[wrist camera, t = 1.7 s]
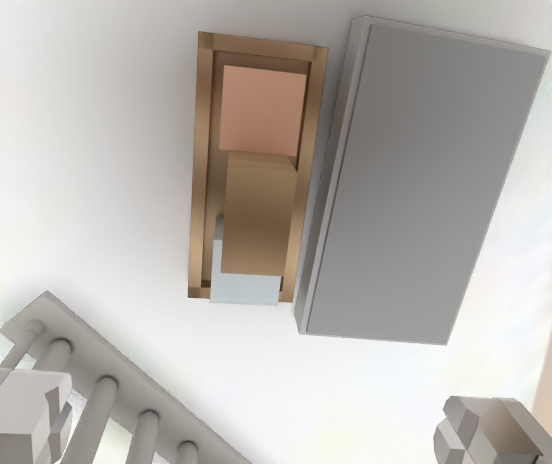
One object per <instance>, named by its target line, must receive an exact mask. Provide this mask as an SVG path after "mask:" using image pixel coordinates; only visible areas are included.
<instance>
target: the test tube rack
mask: <svg viewBox="0 0 552 464" xmlns="http://www.w3.org/2000/svg"><path fill="white" fill-rule="evenodd" d="M0 333H2V334H3V335H4V336H5V337H7V338H8V339H9V340H11V341H12V342H13V343H15V344H16V345H15V346H14V347H13V349H12V350H11V351H10V352H9V354H8V355H7V356H6V358H5V359H4V360H3V361H2V363H1V364H0V368H10V369H14V368H15V367H16V366H17V364H18V363H19V361H20V360H21V359H22V357H23V356H24V355H25V353H28V354H29V355H30V356H32V357H33V358H34V359H36V360H37V362H36V364H35V365H34V367H33V368H32V370H39V371H51V372H64V373H69V374H70V375H71V379H72V388H73V389H75V390H76V391H77V392H79V393H80V394H81V395H82V396H84V397H85V398H86V399H88V401H87V403H86V405H85V408H84V410H83V412H82V415H81V417H80V419H79V422H78V424H77V426H76V428H75V431H74V433H73V435H72V438H71V440H70V442H69V445H68V447H67V449H66V451H65V454H64V456H63V458H62V461H61V463H60V464H92V463H93V460H94V457H95V454H96V451H97V449H98V446H99V443H100V440H101V437H102V434H103V432H104V429H105V426H106V423H107V420H108V418H109V416H110V417H111V418H112V419H114V420H115V421H116V422H118V423H119V424H120V425H122V426H123V427H124V428H125V429H127V430H128V431H129V432H131V433H132V434H133V438H132V442H131V445H130V449H129V453H128V456H127V460H126V464H152V460H153V455H154V451H155V452H157V453H158V454H159V455H161V456H162V457H163V458H165V459H166V460H167V461H169V462H170V463H171V464H252V463H251V462H249V461H248V460H247V459H246V458H245V457H244V456H242V455H241V454H240V453H239V452H238V451H236V450H235V449H234V448H233V447H232V446H231V445H229V444H228V443H227V442H226V441H225V440H224V439H222V438H221V437H220V436H219V435H218V434H216V433H215V432H214V431H213V430H212V429H211V428H209V427H208V426H207V425H206V424H205V423H203V422H202V421H201V420H200V419H199V418H198V417H196V416H195V415H194V414H193V413H192V412H190V411H189V410H188V409H187V408H186V407H185V406H183V405H182V404H181V403H180V402H179V401H178V400H176V399H175V398H174V397H173V396H172V395H170V394H169V393H168V392H167V391H166V390H165V389H163V388H162V387H161V386H160V385H159V384H157V383H156V382H155V381H154V380H153V379H152V378H150V377H149V376H148V375H147V374H146V373H145V372H143V371H142V370H141V369H140V368H139V367H137V366H136V365H135V364H134V363H133V362H132V361H130V360H129V359H128V358H127V357H126V356H124V355H123V354H122V353H121V352H120V351H119V350H117V349H116V348H115V347H114V346H113V345H111V344H110V343H109V342H108V341H107V340H106V339H104V338H103V337H102V336H101V335H100V334H99V333H97V332H96V331H95V330H94V329H93V328H91V327H90V326H89V325H88V324H87V323H86V322H84V321H83V320H82V319H81V318H80V317H79V316H77V315H76V314H75V313H74V312H73V311H71V310H70V309H69V308H68V307H67V306H66V305H64V304H63V303H62V302H61V301H60V300H59V299H57V298H56V297H55V296H54V295H53V294H51V293H50V292H49V291H48V290H47V291H45V292H44V293H43V294H42V295H40V296H39V297H38V298H37V299H35V300H34V301H33V302H32V303H31V304H29V305H28V306H27V307H26V308H24V309H23V310H22V311H21V312H19V313H18V314H17V315H16V316H14V317H13V318H12V319H11V320H9V321H8V322H7V323H6V324H5V325H3V327H2V328H1V329H0Z"/></svg>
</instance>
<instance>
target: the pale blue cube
mask: <svg viewBox="0 0 552 464" xmlns="http://www.w3.org/2000/svg"><path fill="white" fill-rule="evenodd" d="M223 226H224V216H216V224H215V233H214V243H213V259H212V276H211V292H210V303H230V304H251V305H273V306H277V305H278V297H279V289H280V282H281V276H265V275H247V274H229V273H221V257H222V241H223Z"/></svg>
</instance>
